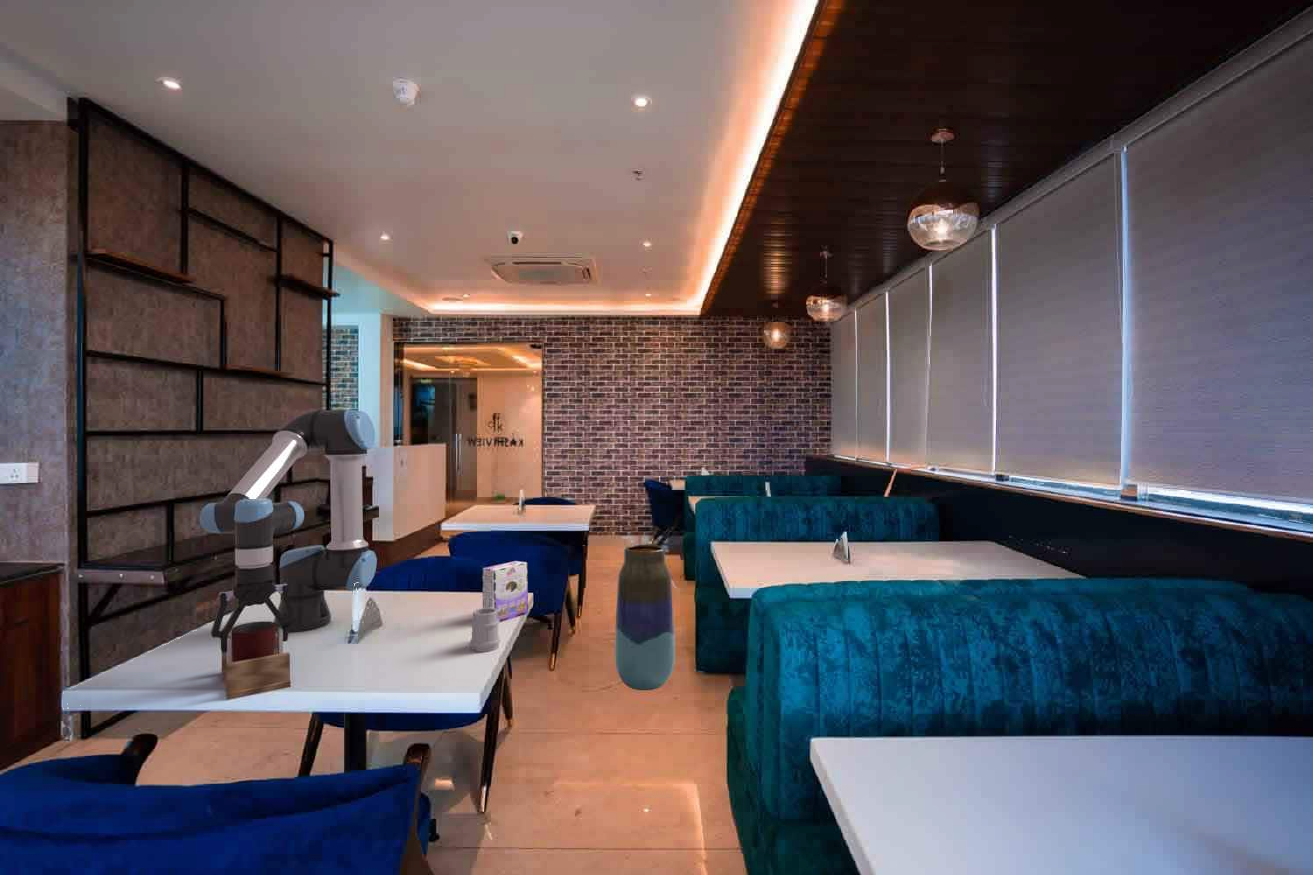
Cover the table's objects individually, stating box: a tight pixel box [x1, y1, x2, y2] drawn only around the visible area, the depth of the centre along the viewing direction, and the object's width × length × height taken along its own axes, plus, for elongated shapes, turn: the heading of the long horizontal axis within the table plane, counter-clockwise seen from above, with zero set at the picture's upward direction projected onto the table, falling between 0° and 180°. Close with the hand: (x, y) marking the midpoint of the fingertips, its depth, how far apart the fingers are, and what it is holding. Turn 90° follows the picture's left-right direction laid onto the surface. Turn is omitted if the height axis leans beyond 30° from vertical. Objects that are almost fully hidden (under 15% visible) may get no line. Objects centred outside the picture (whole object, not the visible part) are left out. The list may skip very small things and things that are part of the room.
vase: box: [614, 544, 676, 691], centre depth 147 cm, size 14×14×31 cm
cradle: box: [221, 634, 292, 701], centre depth 150 cm, size 12×20×7 cm, turn 37°
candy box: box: [482, 560, 529, 623], centre depth 201 cm, size 14×6×16 cm, turn 144°
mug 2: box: [469, 597, 501, 653], centre depth 174 cm, size 8×12×12 cm, turn 177°
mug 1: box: [230, 621, 277, 662], centre depth 150 cm, size 12×9×11 cm
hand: (255, 659), depth 150 cm, fingers open, 9 cm apart
